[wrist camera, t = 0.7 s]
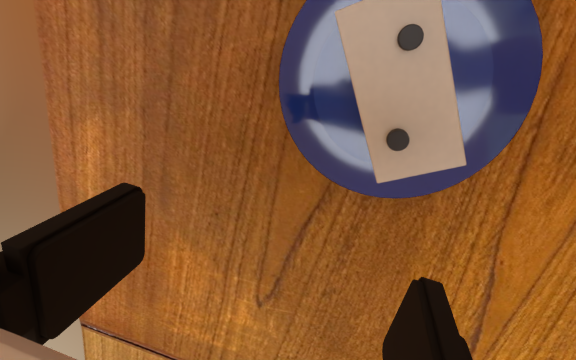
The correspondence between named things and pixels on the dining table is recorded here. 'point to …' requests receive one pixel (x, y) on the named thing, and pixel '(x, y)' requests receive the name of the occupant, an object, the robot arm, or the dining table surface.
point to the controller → (403, 85)
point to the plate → (467, 81)
